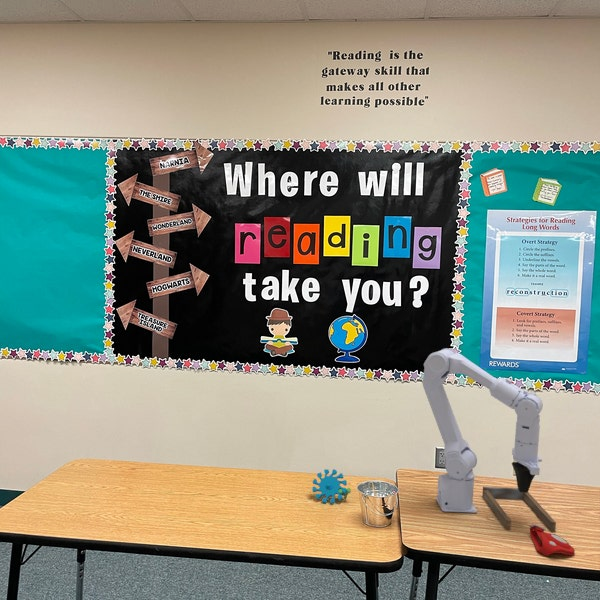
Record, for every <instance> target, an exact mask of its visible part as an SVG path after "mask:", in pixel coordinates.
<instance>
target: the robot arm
mask: <svg viewBox="0 0 600 600" xmlns="http://www.w3.org/2000/svg"><path fill="white" fill-rule="evenodd" d="M423 367H424V369H423V377H422V387H423V390H424V392H425V395H426V398H427V400H428V403H429V405H430V408H431V412H432V414H433V417H434V420H435V422H436V425H437V428H438V430H439V433H440V436H441V439H442V441H443V444H444V450H443V456H444V458H445V465H444V467H445V470H446V473H443V474H439V475H438V479H437V494H436V501H437V503H438V505H439V508H440V510H441V511H442V512H446V513H449V512H450V513H453V512H454V513H472V514H476V513H477V512H478V510H477V508H476V507H475V505H474V504H473V503H474V486H475V485H474V484H475V483H474V481H475V474H474V470H473V469H474V468H476V466H477V463H478V457H477V455H476V453H475V452H474V451H473V450H472V449H471V447H470V445H469V443H468V442H467V440H465V439H464V438H463V436H462V433H461V430H460V427H459V424H458V423H457V422H458V421H457V420H456V417H455V414H454V411H453V409H452V405H451V403H450V401H449V398H448V396H447V393H446V389H445V386H444V383H445V381H446V379H447V377H449V376H448V375H452V374H453V375H456V374H458V375H459V374H462V375H464V376H466V377H468V378H469V379H471V380H473V381H475V382H476V383H478V384H479V385H482V386H484V387H485V388H487V389H488V390H489V393H490V396H491V397H493V398H494V399H496V400H497V401H499V402H500V403H502V404H504V405H505V406H507V407H509V408H510V409H512V410H514V412H515V414H516V422H515V435H514V447H512V449H511V450H512V451H511V453H512V454H511V455H512V459H513V461H512V462H511V465H512V468H513V470H514V474H515V478H516V485H517V488H518V490H519V491H520V492H525V493H528V492H529V491H530V487H531V484H532V483H533V479H534V478H535V476H539V475H540V472H541V471H540V469H541V468H540V466H539V463H541V462H543V459H542V457H540V456H538V453H539V441H540V440H539V439H540V428H541V427H540V426H541V425H540V421H541V420H540V417H541V416H540V414H541V412H542V410H543V401H542V399H541V398H540V397H539V396H538V395H537V394H536V393H533V392H529V390H527V389H522V388H520V387H519V386H518V385H516V384H514V383H513V381H512V379H510V378H505V377H499V378H496V377H494V376H493V375H491V374H490V373H489V372H487V371H485V370H484V369H482V368H481V367H479V366H478V364H475V363H474V362H472V361H471V360H469V359H468V358H467V357H465V356H464V355H462V354H461V353H459V352H456V351H455V350H453V349H452V348H447V347H446V348H445V347H444V348H442V349H441V350H438V351H435V352H434V351H433V352H432V353H430V354H429V355H428V356H427V358H426V360H424V363H423Z"/></svg>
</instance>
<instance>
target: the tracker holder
mask: <svg viewBox="0 0 600 600" xmlns="http://www.w3.org/2000/svg"><path fill="white" fill-rule="evenodd" d="M528 528H529V534H530V537H531V540H532V543H533V545H534V547H535V550H536V551H538V553H540V554H542V555H543V556H546V557H547V556H550V555H551V554H563V555H568V556H574V555H575V550H576V549H575V548H574V547H573V546H572V545H570V544H569V542H568V541H567V540H565V539H564V538H563V537H561V536H559V535H557V534H555V533H551V532H550V533H548V532H545V531H546V527H542V526H541V525H538V524H537V523H533V524H529V525H528Z"/></svg>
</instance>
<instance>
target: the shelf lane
mask: <svg viewBox="0 0 600 600" xmlns="http://www.w3.org/2000/svg"><path fill="white" fill-rule="evenodd" d="M481 497H482V498H483V501H485V503H486V505H488V506H489V508H490V510H491V511H492V512H493V514H494V515H495V517H496V518H497V519H498V521H499V522H500V524H501V525H502V527H503V528H504V530H505V531H511V527H512V520H511V518H510V517H509V516H508V515H507V513H506V512H505V511H504V509H503V507H502V506H501V505H500V504H499V503H498V501H497V499H498V500H521V501H524V503H525V504H526V505H527V506H528V507H529V509H530V510H531V511H532V512H533V513H534V514H535V515H536V517H538V519H539V520H540V522H541V523H542V524H543V525H544V526H545V528H547V529H548V530H549V531H550V533H551V532H552V533H553V532H554V533H555V532H556V529H557V528H556V527H557V526H556V525H557V521H556V520H554V518H553V517H552V516H551V515H550V514H549V513H548V512H547V511H546V510H545V509H544V507H543V506H542V505H541V504H540V503H539V502H538V501H537V500H536V499H535V497H534V496H532V494H530V492H529V491H528V493H525V492H520V491H519V490H518V487H502V486H501V487H500V486H498V487H497V486H482V496H481Z"/></svg>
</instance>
